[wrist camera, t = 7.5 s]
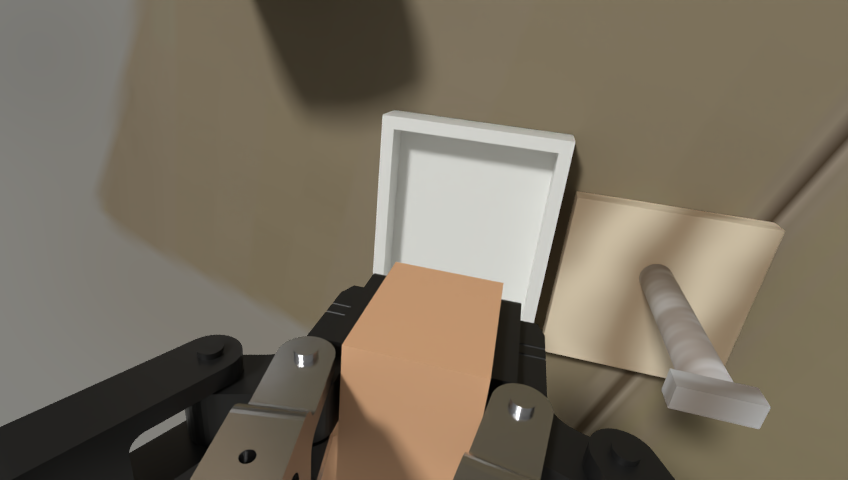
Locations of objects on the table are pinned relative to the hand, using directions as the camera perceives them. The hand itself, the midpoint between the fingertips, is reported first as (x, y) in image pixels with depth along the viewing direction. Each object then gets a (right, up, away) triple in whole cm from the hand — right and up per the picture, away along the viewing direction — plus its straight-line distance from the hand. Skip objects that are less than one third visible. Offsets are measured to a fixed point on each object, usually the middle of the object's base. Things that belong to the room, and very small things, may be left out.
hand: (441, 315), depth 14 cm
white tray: (+2, +3, +20) cm, 21 cm away
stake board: (+15, -1, +19) cm, 24 cm away
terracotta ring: (-1, -4, +2) cm, 5 cm away
